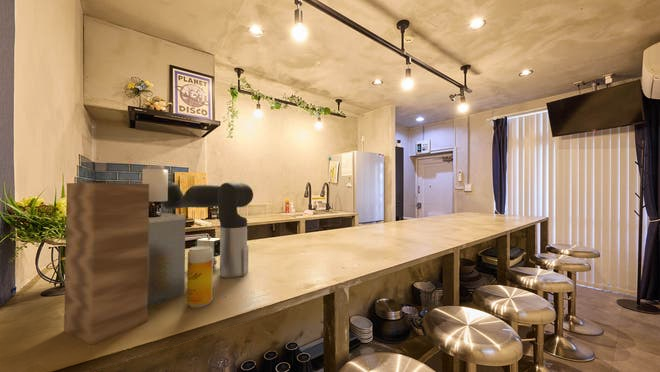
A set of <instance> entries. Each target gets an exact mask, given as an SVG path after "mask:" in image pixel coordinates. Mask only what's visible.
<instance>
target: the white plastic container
mask: <svg viewBox="0 0 660 372" xmlns="http://www.w3.org/2000/svg"><path fill="white" fill-rule="evenodd" d="M141 181H142V183H141V184H149V202H152V203H153V202H160V201H168V183H169V170H168V169H165V165H164V166H163V165H149V164H148V165H147V166H146V168H142V180H141Z"/></svg>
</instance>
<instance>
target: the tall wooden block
mask: <svg viewBox="0 0 660 372" xmlns="http://www.w3.org/2000/svg"><path fill="white" fill-rule="evenodd" d="M65 206H66V209H65V211H66V213H65V214H66V215H65V220H66V221H65V260H64V261H65V262H64V263H65V265H64V266H65V267H64V270H65V271H64V311H63V312H64V313H63V314H64V315H63V319H64V320H63V325H64V326H63V331H64V332H66V333H68V334H69V335H72V336H73V337H75V338H77V339H80V340H81V341H83V342H85V343H87V344H90V345H91V346H94V345H96V344H99V343H101V342H103V341H106V340H108V339H110V338H112V337H114V336H117V335H121V334H122V333H124V332H127V331H129V330H131V329H133V328H135V327H138V326H140V325H142V324H144V323H146V322H148V308H147V299H148V228H149V218H150V217H149V214H150V213H149V212H150V208H149V207H150V206H149V184H142V183H122V182H121V183H119V182H118V183H117V182H114V183H113V182H67V183H66V205H65Z"/></svg>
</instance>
